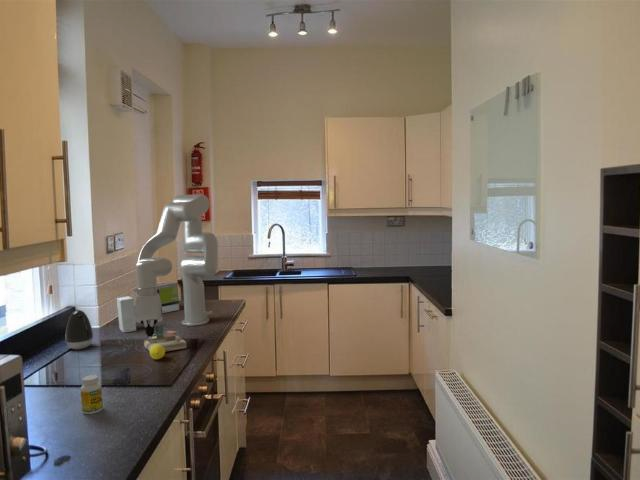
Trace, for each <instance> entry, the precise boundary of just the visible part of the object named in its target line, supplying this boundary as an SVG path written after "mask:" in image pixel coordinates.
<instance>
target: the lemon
mask: <svg viewBox="0 0 640 480" xmlns="http://www.w3.org/2000/svg"><path fill="white" fill-rule="evenodd" d="M165 355H166V352H165V349H164V347H163V346H161V345H154V346H153V347H152V348H151V349H150V351H149V356H150V358H152V359H153V360H160V359H162V358H163V357H164V356H165Z"/></svg>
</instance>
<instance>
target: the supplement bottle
mask: <svg viewBox="0 0 640 480" xmlns="http://www.w3.org/2000/svg"><path fill="white" fill-rule="evenodd" d="M81 380H82V385H81V386H80V401H81V409H82V410H81V411H82V413H83V414H84V415H94V414H96V413H97V414H98V413H99V412H101V411H103V408H104V406H103V405H104V403H103V390H102V384H101V383H100V382H99V376H98V375H96V374H90V375H86V376H84V377H83V378H82V379H81Z"/></svg>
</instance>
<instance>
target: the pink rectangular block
mask: <svg viewBox="0 0 640 480" xmlns="http://www.w3.org/2000/svg"><path fill="white" fill-rule="evenodd" d="M172 335H178V333H177V331H175V330H166V331H165V337H166V336H172Z"/></svg>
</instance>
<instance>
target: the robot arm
mask: <svg viewBox="0 0 640 480" xmlns="http://www.w3.org/2000/svg"><path fill="white" fill-rule="evenodd" d="M209 207H210V199H209V198H208V196H206V195H205V194H199V193H198V194H180V195H176V196H174V197H173V199H172V202H168V203H166V204H165V205H164V206H163V209H162V213H161V216H160V219H159V223H158V226H157V230H156V233H154V235H153V236H152V237H150V238H149V239H148V241H146V242H145V243H144V245H143V246H142V248H141V249H140V252H139V255H138V259H137V262H136V264H135V276H136V288H134V289H133V293H136V295H135V298H134V312H135V322H136V324H137V323H138V324H142V325H143V326H144V328H145V335H147V338H149V336H150V337H152V336H153V334H154V330H155V325H156V324H157V323H159V322H160V323H161V322H163V320H164V318H163V313H162V305H161V300H160V296H159V294H158V293H157V283H158V282H157V277H165V276H168V275H169V274H171V272H172V270H173V263H172V261H171V260H170V258H169V259H168V258H166V257H153V256H154V254H155V253H156V252H157V251H158V250H159V249H160V248H162V247H164V246H166V245H169V244H171V243H172V242H174V241H175V240H177V237H178V233H179V229H180V225H181V224H182V228H183V231H182V233H183V234H182V235H183V236H182V242H183V243H182V245H183V249H184V251H185V252H186V253H190V254H203V255H187V256H184V257H182V258H181V260H180V261H179V271H180V274H181V279H182V290H183V306H184V307H183V309H184V312H183V313H184V319H182V320H181V325H184V326H188V327H189V326H190V327H191V326H194V327H195V326H202V325H206V324H208V323H210V319H209V316H212V315H213V314H214V313H213V310H210V311H206V299H205V285H204V281H203V280H202V278H201V277H209V278H210V277H213V276H215V275H216V274H217V271H218V263H219V261H218V259H219V258H218V257H219V255H218V254H219V253H218V252H219V249H218V247H219V245H218V244H219V243H218V239H217V237H216V235H215V234H214V233H212V232H205V231H203V222H202V219H201V216H202V215H204V214H206V213H207V212H208V210H209ZM181 222H182V223H181ZM149 321H150V323H149Z"/></svg>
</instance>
